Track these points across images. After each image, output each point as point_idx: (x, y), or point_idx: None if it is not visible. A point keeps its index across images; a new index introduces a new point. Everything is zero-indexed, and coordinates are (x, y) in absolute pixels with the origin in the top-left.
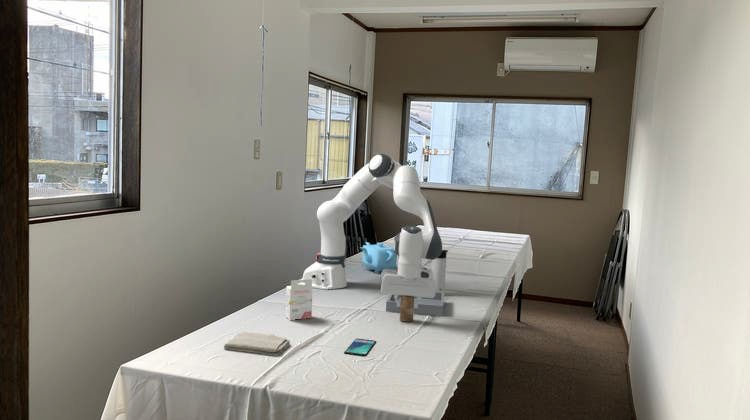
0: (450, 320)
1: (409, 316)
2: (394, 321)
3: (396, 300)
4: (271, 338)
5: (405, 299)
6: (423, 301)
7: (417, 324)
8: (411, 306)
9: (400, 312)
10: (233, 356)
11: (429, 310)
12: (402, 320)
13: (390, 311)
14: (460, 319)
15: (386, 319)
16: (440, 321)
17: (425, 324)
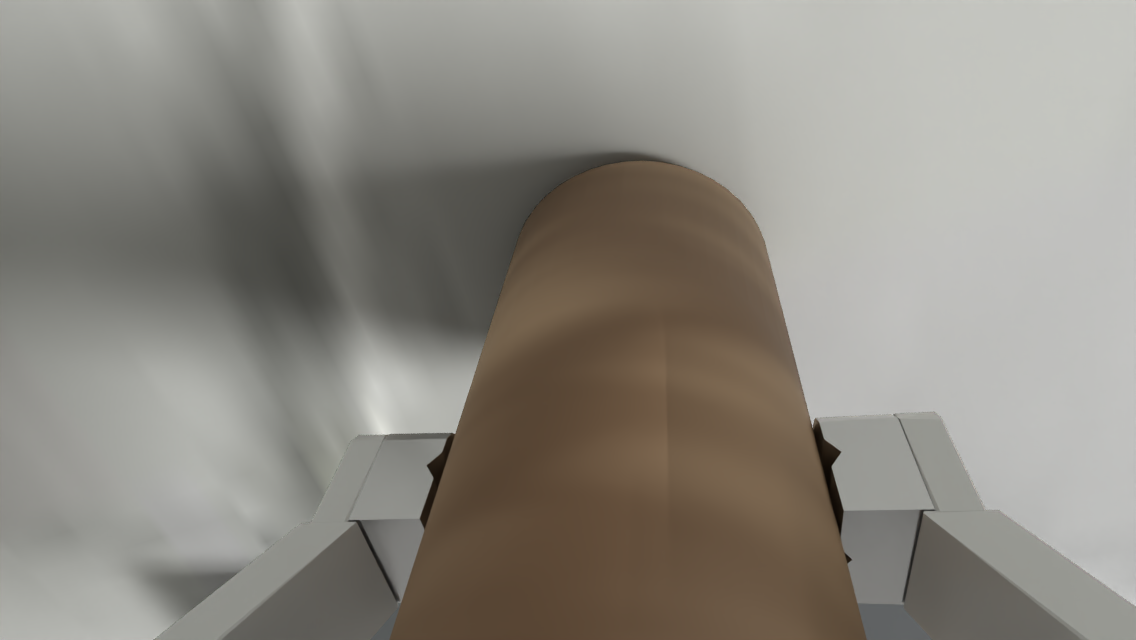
0: (88, 476)
1: (546, 233)
2: (865, 131)
3: (1023, 559)
4: None
5: (667, 563)
6: None
7: (382, 125)
8: (475, 410)
9: (777, 308)
10: None
11: (385, 628)
12: (697, 172)
13: None
14: (29, 534)
15: (1044, 198)
16: (159, 405)
17: (261, 186)
